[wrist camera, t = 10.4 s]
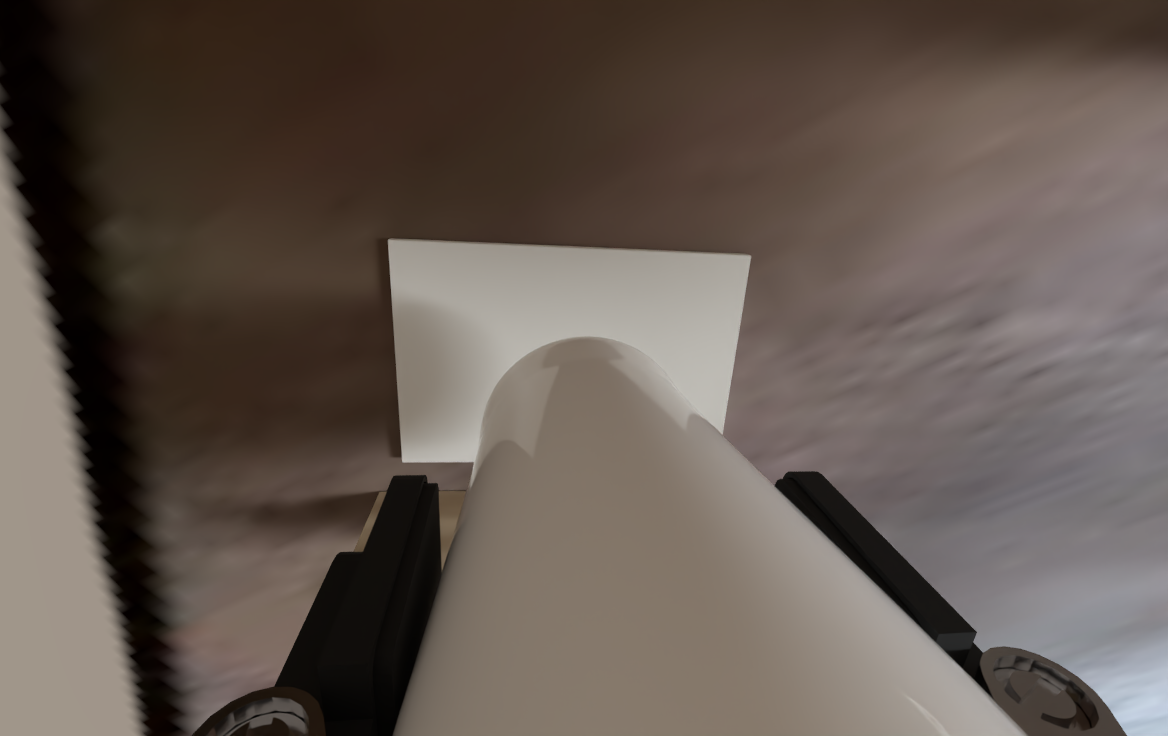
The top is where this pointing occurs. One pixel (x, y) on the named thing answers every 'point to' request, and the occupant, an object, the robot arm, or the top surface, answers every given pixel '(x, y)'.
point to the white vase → (657, 584)
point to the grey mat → (549, 324)
